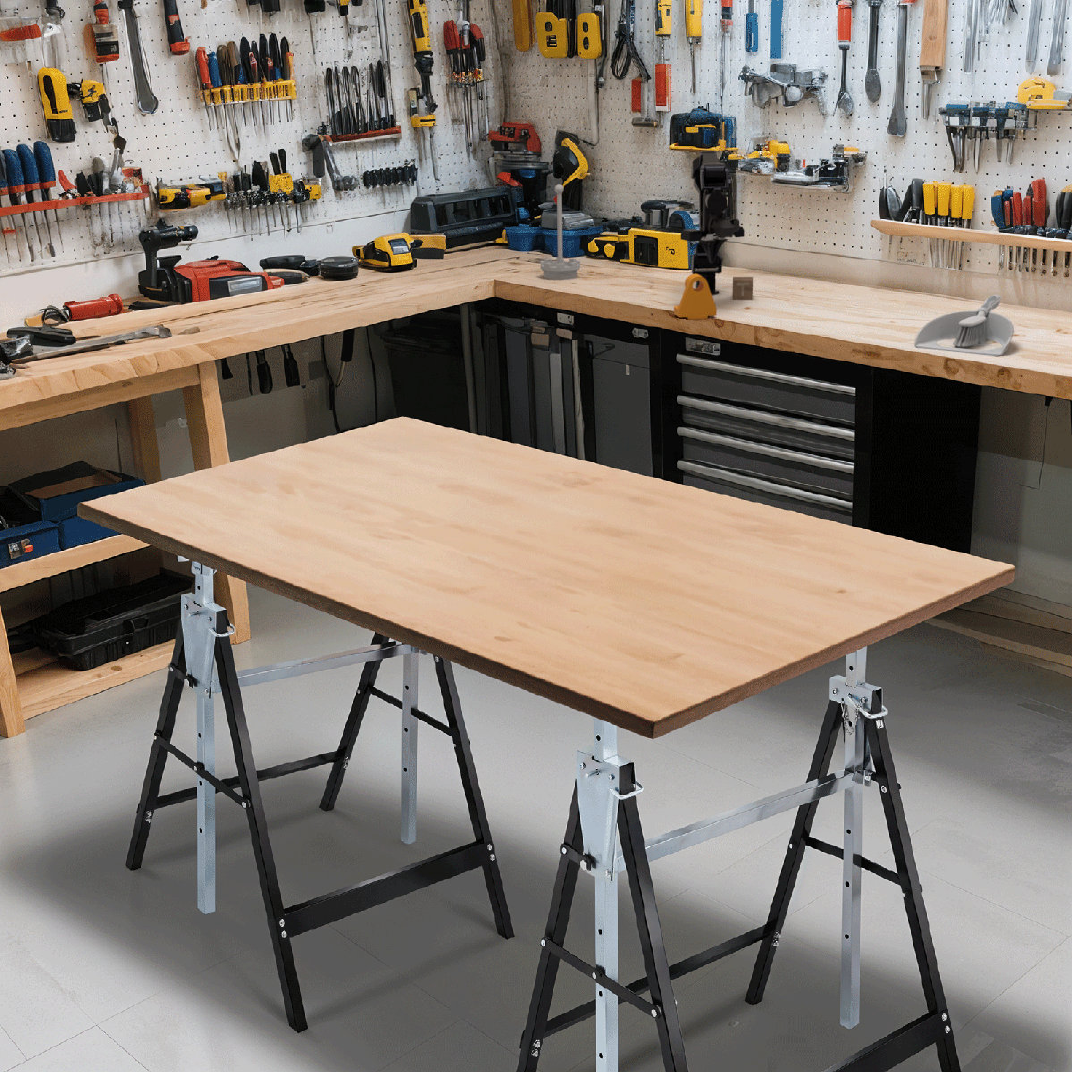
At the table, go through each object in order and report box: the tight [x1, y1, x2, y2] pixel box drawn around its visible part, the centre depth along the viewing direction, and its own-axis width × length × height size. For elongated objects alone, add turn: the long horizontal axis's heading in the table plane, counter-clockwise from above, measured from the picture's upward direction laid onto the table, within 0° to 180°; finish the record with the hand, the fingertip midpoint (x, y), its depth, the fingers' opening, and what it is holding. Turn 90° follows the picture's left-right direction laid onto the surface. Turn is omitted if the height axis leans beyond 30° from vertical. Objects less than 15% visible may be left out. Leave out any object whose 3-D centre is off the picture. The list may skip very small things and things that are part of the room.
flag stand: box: [540, 183, 581, 281], centre depth 447 cm, size 13×13×30 cm
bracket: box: [673, 273, 718, 321], centre depth 385 cm, size 11×7×12 cm, turn 98°
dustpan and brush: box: [913, 294, 1015, 357], centre depth 350 cm, size 23×33×10 cm
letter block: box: [731, 276, 754, 301], centre depth 410 cm, size 6×6×6 cm
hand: (712, 263), depth 399 cm, fingers closed
